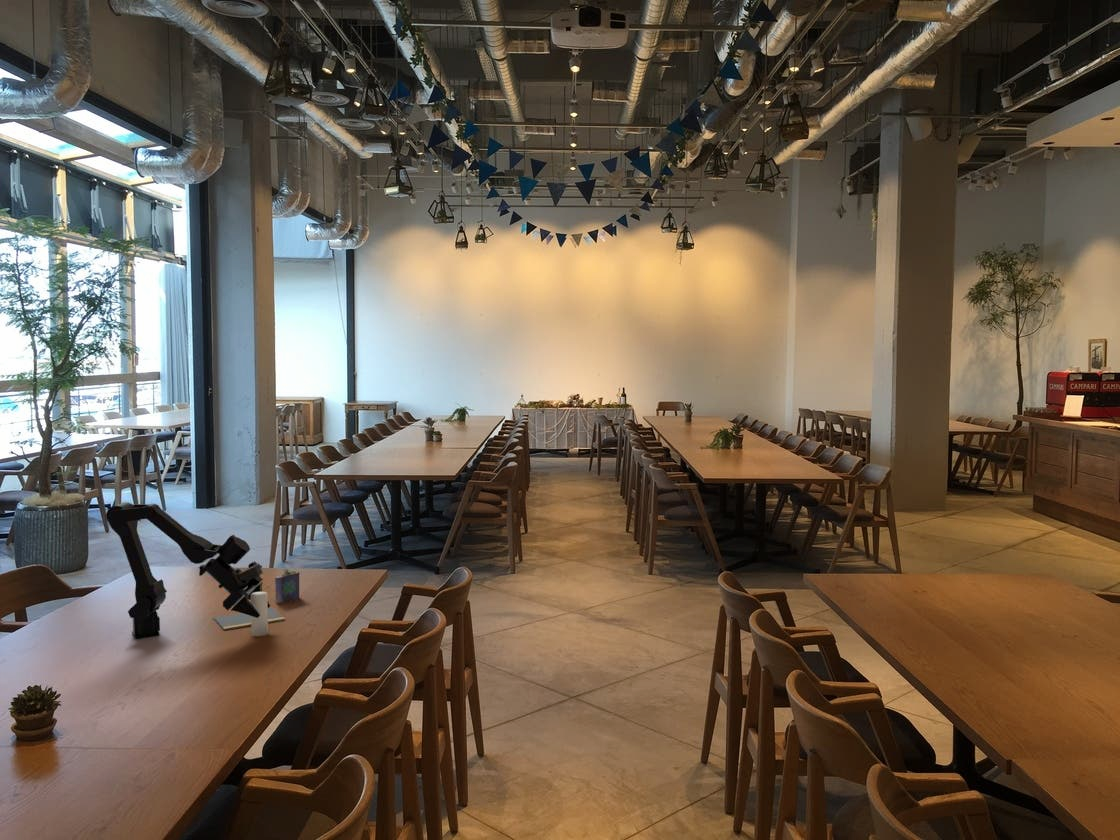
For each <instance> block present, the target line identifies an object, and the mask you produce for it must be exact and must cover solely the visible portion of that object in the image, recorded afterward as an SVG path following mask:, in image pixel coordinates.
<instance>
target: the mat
mask: <svg viewBox="0 0 1120 840" xmlns="http://www.w3.org/2000/svg"><path fill="white" fill-rule="evenodd" d="M213 620H214V621H215V622H216V623H217V624H218V625H219V627H220V628H221V629H222V630H223V631H229V630H236V629H241V628H247V627H251V616H250V615H247V614H244V613H240V612H237V613H236V612H235V613H229V614H224V615H223V614H222V615H217V616H213ZM283 621H286V618H285V617H284V616H283V615H281V614H280V613H279V611H277V610H276V609H274V608H273V607H269V608H268V624H271V623H277V622H283Z"/></svg>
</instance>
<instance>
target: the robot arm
mask: <svg viewBox="0 0 1120 840" xmlns="http://www.w3.org/2000/svg"><path fill="white" fill-rule="evenodd" d="M105 518H106V520H107V522H108V523H107V524H108V525H109V526H110V527H111V530H113V532H114V533H115V534H117V536H118V537H119V539H120V541H121V544H122V548H123V550H124V553H125V555H126V558H127V561H128V564H129V567H130V570H131V573H132V575H133V578H134V581H135V587H134V588H135V589H134V597H135V598H134V599H135V603H134V605H132V606H131V607H130V608H129V609H128V610H127V614H128V615H129V618H130V619H132V631H131V634H132V636H133V638H134V639H142V638H147V637H154V636H158V635H160V631H161V622H160V620H161V619H160V616H159V614H158V612H157V610H160V608H161V606H162V604H163V603H164V602H165V600H166V598H167V596H166V593H167V592H168V590H167V589H166V587H165V585H164V580H163V579H160V580H157V578H155V577H154V575H153V573H152V571H151V570H152V569H151V567H150V564H149V562H148V559H147V556H146V553H145V550H144V547H143V544H142V541H141V538H140V535H139V531H138V522H139V521H140V520H148V521H149V522H150V523H151V524H152V525H154V526H155V527H156V528H157V529H158V530H160V531H161V532H162V533H164V535H166V536H167V537H168V538H170V539H171V540H172V541H173V542H175V543H176V544H177V545H178V546H179V548H180V549H181V552H182V553H183V555H185V557H186V558H187V559H188V560H189V562H191V563H192V564H196V565H197V564H201V565H200V566H198V568H199V573H198V576H199V577H202V576H203V575H205V574H206V573H207V574H208V575H209V576H211V577H212V579H214V581H216V582H217V583H218V586H217V587H218V588H219V589H222V588H223V589H224V590H225V591H226V592H227V593H228V596H227V597H226V598H225V599H224V600H223V601H222V607H223V608H225V610H226V611H229V610H230V611H231V612H235V613H236V612H237V613H244V614H247V615H250V616H253V617H256V618H258V617H259V616H260V614H259V613H258V611H257V610H256V609H255V608H254V606H253V605H252V604H251V594H252V593H254V592H264V591H263V584H264V581H263V578H262V577H261V575H262V574H264V572H263V570H262V567H263V565H261V564H260V563H259V562H258V563H257V562H256V561H252V562H250V563H249V564H248V567H247V568H246V569H244V570H241V569H240V568H236V569H235V568H233V566H232V565H236V564H238V563H239V562H240V561H241V560H242V559H243V558H244V557H245V556H246V554H248V553H249V552H250V550H251V547H250V545H249V543H248V542H247V541H246V540H245V539H242V538H240V537H237V536H235V534H232V535H230V536H229V537H228V538H227V539H226V541H225V542H224V543H223V544H214V543H212V541H210V540H208V539H206V538H204V537H202V536H200V535H197V534H194V533H192V532H190V531H189V530H188V529H187V528H186V527H184V526H183V525H182V524H181V523H180V522H178V521H177V520H176V519H174V518H173V517H172V516H171V515H169V514H168V513H167V512H166V511H165V510H163V509H162V508H161V507H160V506H159V505H158V504H157V503H150V504H149V503H148V504H146V503H140V504H139V503H138V504H132V503H130V502H127V501H125V502H120V503H118V504H116V505H113V506H111V507H109V508H108V509H107V511H106V513H105ZM217 555H218V556H217ZM215 556H217V557H216V558H215ZM205 561H207V562H206V564H202V563H205ZM267 604H268V608H271V604H270V603H269V601H268V600H267Z"/></svg>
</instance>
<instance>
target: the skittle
mask: <svg viewBox="0 0 1120 840" xmlns="http://www.w3.org/2000/svg"><path fill="white" fill-rule="evenodd" d="M267 601H268V591H267V592H266V591H263V592H254V593H252V594H251V600H250V603H251V604H252V605H253V606H254V608H255V609H256V610H257V611H258V613H259V614H260V616H259V617H258V618H256V617H253V616H251V626H250V627H251V636H252V637H264V636H267V635H268V634H269V623H268V604H267Z"/></svg>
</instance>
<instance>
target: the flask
mask: <svg viewBox="0 0 1120 840" xmlns="http://www.w3.org/2000/svg"><path fill="white" fill-rule="evenodd" d="M282 571H284V572H283V574H281V575H277V576H275V577H274V581H275V582H274V583H275V587H274V589H275V600H274V601H275V604H276V605H280V604H284V603H288V602H291V601H295V600H296V601H297V600H299V599H300V572H299V571H294V570H292V571H289V569H288V568H284V569H283V570H282Z"/></svg>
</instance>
